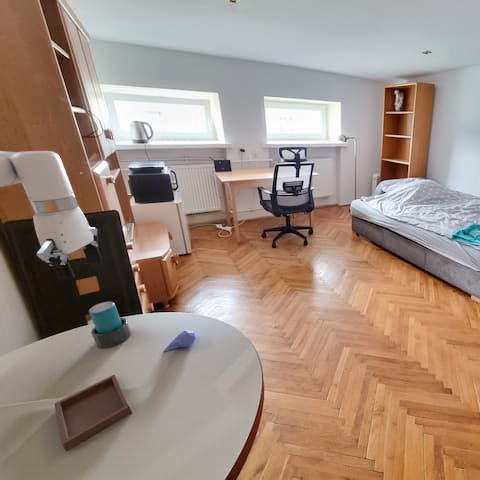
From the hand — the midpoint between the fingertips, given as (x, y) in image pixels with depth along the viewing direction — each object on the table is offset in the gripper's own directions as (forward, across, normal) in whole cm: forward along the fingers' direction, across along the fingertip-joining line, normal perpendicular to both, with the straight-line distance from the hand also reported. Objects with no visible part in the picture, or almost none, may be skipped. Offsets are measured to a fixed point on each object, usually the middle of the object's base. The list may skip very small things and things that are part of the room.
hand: (82, 269), depth 74 cm
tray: (+24, +23, +10) cm, 35 cm away
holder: (+24, -2, -1) cm, 25 cm away
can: (+24, -2, -1) cm, 24 cm away
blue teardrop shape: (+25, +4, +20) cm, 32 cm away
